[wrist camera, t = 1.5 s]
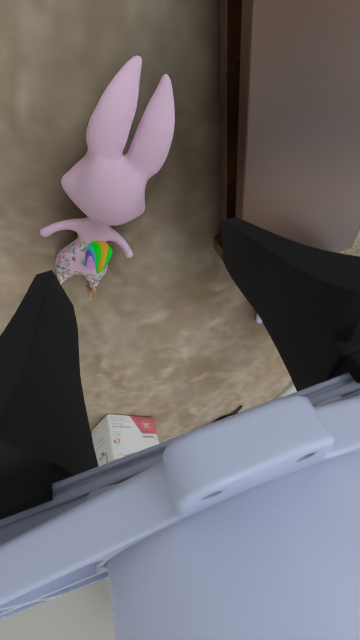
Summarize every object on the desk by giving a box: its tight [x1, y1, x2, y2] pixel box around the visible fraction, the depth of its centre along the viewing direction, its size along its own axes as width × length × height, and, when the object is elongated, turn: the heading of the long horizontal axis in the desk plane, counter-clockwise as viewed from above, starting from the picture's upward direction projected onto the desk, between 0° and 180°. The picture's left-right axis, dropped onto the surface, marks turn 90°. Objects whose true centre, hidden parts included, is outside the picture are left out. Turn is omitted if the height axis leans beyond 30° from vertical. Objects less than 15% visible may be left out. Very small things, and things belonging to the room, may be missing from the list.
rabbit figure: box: [40, 56, 175, 299], centre depth 17 cm, size 6×6×15 cm
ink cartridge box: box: [92, 414, 159, 466], centre depth 39 cm, size 9×5×15 cm, turn 50°
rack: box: [214, 0, 360, 259], centre depth 17 cm, size 18×10×5 cm, turn 8°
